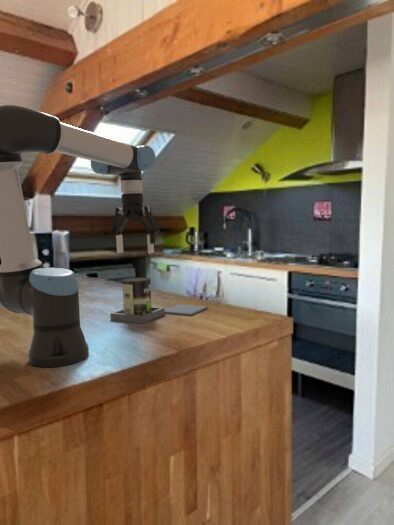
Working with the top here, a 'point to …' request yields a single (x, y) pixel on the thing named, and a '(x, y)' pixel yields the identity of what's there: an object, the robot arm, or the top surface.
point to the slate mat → (185, 309)
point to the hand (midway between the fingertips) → (135, 253)
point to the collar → (137, 316)
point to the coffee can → (137, 295)
